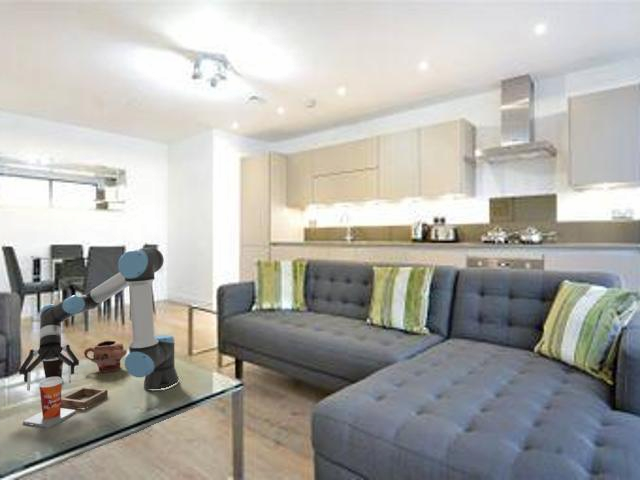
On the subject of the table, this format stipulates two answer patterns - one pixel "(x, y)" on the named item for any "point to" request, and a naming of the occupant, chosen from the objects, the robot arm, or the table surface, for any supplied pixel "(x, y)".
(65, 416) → the slate pad
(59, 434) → the table surface
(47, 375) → the coffee mug
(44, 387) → the paper cup
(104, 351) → the decorative planter
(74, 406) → the walnut collar
